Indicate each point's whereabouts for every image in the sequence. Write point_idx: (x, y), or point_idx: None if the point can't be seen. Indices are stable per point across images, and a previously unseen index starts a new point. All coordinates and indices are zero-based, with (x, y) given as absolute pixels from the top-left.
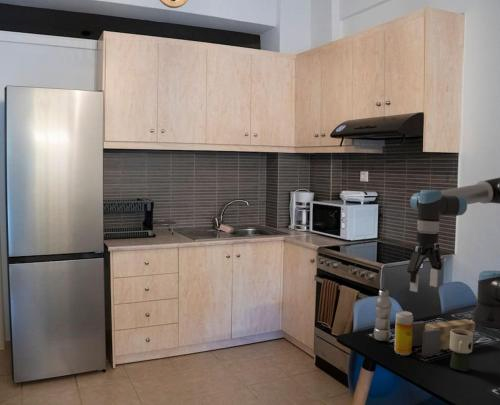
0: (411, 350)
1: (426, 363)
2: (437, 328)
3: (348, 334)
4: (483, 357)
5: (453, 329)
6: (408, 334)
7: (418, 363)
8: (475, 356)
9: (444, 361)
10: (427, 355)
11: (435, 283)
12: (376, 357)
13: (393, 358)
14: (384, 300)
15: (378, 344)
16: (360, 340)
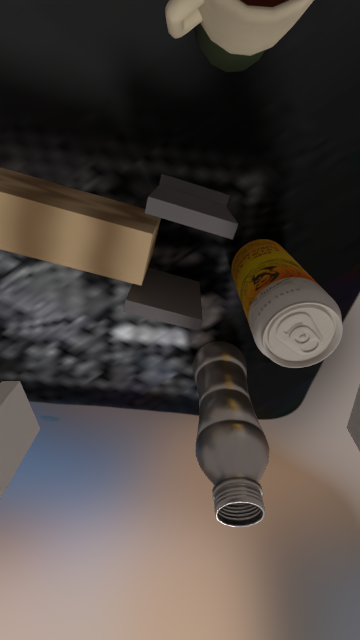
0: (251, 243)
1: (282, 156)
2: (131, 226)
3: None
4: (28, 36)
5: (260, 9)
6: (295, 263)
7: (304, 174)
8: (53, 69)
9: (211, 123)
10: (223, 193)
11: (3, 414)
12: (355, 287)
13: (325, 253)
14: (256, 460)
15: None
16: (268, 381)
